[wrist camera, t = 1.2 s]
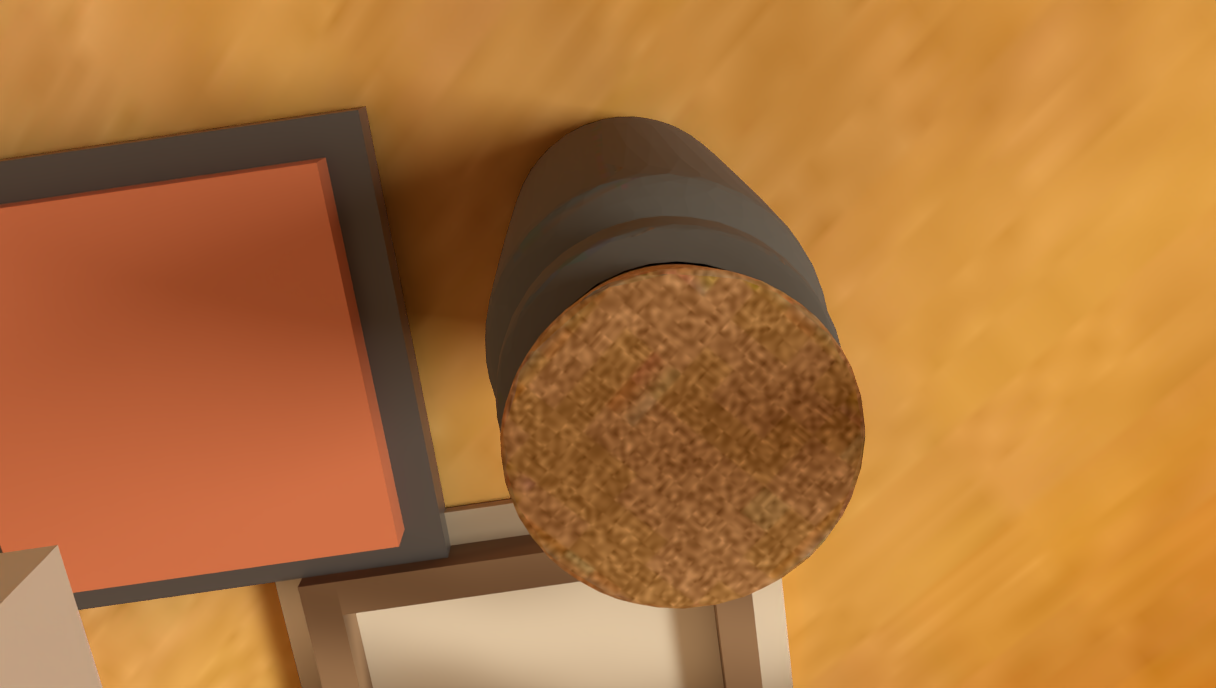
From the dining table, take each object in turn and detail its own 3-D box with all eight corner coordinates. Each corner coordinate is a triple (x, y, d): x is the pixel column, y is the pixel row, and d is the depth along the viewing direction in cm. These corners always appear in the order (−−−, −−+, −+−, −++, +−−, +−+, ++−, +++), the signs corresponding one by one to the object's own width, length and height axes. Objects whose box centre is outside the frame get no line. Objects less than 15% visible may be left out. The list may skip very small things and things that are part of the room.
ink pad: (-112, 175, 27) (-163, 187, 26) (365, 106, 27) (350, 113, 25) (27, 600, 31) (-8, 639, 29) (452, 540, 31) (444, 575, 29)
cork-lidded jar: (587, 377, 30) (605, 720, 15) (469, 190, 28) (365, 376, 14) (779, 267, 29) (987, 516, 15) (668, 69, 27) (778, 129, 13)
